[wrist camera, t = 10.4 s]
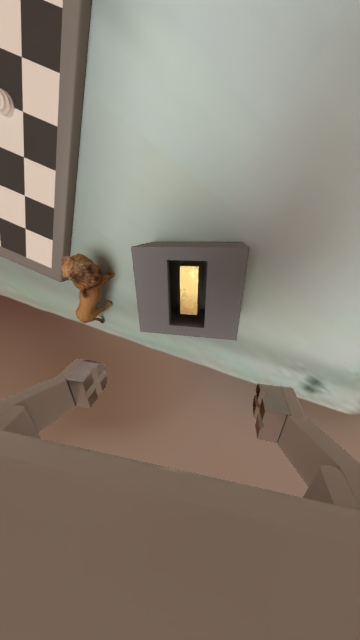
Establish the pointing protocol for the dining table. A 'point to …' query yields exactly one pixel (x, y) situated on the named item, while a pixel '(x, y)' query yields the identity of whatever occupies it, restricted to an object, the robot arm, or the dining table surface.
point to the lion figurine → (86, 285)
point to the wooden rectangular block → (190, 287)
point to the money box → (164, 287)
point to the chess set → (40, 127)
